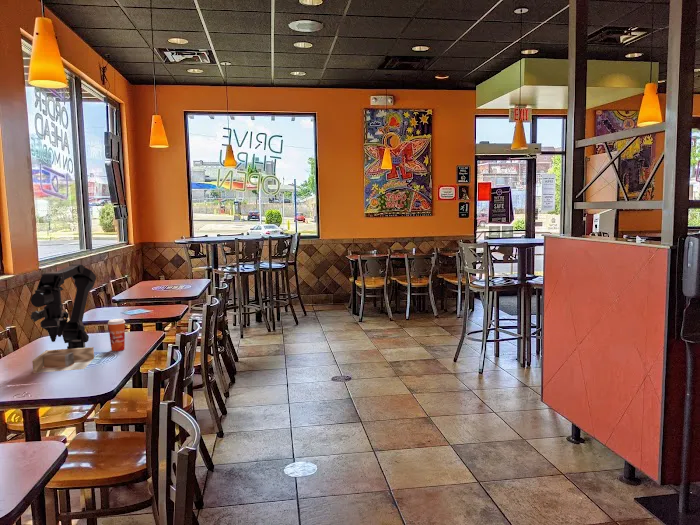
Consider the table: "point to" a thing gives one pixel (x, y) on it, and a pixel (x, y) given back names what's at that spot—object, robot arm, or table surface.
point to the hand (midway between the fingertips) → (56, 339)
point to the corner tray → (80, 362)
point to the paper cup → (117, 334)
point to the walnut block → (58, 359)
